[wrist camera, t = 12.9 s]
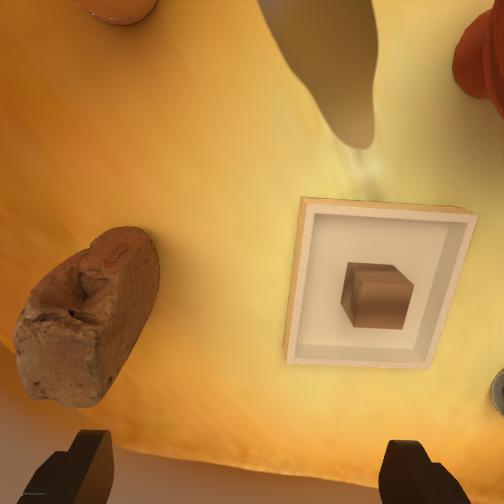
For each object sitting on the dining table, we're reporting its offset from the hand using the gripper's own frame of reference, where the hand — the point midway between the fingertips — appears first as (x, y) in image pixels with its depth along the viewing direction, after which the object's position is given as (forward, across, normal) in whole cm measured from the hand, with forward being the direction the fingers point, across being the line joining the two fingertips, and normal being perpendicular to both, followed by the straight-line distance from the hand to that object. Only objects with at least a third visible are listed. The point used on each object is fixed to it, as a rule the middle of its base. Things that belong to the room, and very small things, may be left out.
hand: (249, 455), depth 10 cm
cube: (+33, -17, +10) cm, 39 cm away
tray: (+34, -17, +10) cm, 39 cm away
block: (+34, +14, +9) cm, 38 cm away
